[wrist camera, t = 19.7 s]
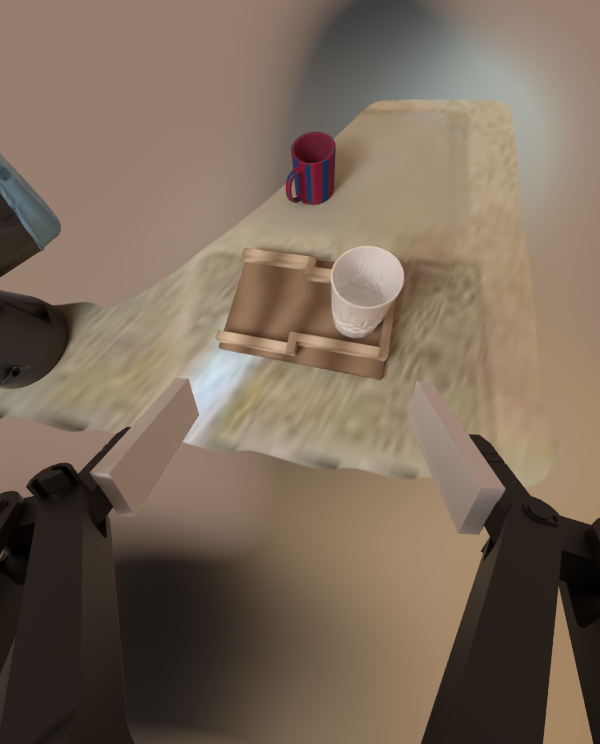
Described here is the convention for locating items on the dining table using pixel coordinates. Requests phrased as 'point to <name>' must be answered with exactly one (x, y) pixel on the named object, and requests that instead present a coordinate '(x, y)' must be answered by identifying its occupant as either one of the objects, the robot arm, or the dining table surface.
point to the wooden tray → (298, 317)
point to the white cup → (364, 289)
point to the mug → (312, 168)
